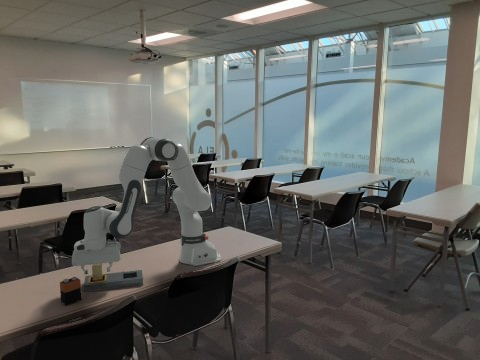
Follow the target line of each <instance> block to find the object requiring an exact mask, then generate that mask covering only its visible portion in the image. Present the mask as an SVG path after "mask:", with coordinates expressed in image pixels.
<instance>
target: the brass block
mask: <svg viewBox="0 0 480 360" xmlns="http://www.w3.org/2000/svg"><path fill="white" fill-rule="evenodd" d="M91 273H92V275H93V282H96V281H103V274H104V271H103V263H100V264H91Z"/></svg>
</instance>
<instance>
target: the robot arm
mask: <svg viewBox="0 0 480 360" xmlns="http://www.w3.org/2000/svg"><path fill="white" fill-rule="evenodd" d="M153 160H154V161H159V162H167V165H168V168H169V172H170V173H171V177H172V179H173V181H174V184H175V185H176V186H178V187H176V188H175V189H174V190H173V192H172V197H171V198H172V200H173V202H174V203H175V205H176V208H177V209H178V210H177V211H178V214H179V216H180V218H179V219H180V223H181V224H180V227H181V229H180V230H181V234H180V245H181V247H180V248H181V249H180V254H179V259H178V260H179V262H180V263H182V264H186V265H190V266H193V267H195V266H201V265H206V264H208V265H209V264H212V263H216V262H217V263H218V262H221V261H222V256H221V254H220V253H219V252H218V251H217V248H216V246H215V245H214V244H213V243H212V242H210V241H208V239H209V235H207V234H206V233H205V232H203V219H202V217H201V216H200V213H199V212H202V211H204V212H205V211H207V210H208V209H209V208H210V207H211V205H212V196H211V194H210V193H209V192H208V191H206V190H205V188H204V187H203V185H202V184H201V182H200V181H199V179H198V178H197V175H196V173H195V171H194V168H193V165H192V161H191V159H190V157H189V154H188V152H187V150H186V148H185V146H184V145H182V144H181V143H175V142H174V141H173V140H171V139H170V138H164V137H159V136H156V137H154V136H151V137H146V138H145V139H144V140H142V142H141V143H140V144H133V145H132V146H131V147H130V148H129V149H128V151H127V153H126V154H125V157H124V159H123V162H122V163H121V167H120V168H119V169H120V171H119V175H118V179H119V182H120V183H121V185H122V189H123V192H124V193H123V198H122V202H121V205H120V208H119V211H117V210H110V209H108V208H105V207H103V206H101V205H95V206H91V207H89V208H86V209H85V211H84V214H83V230H84V238H83V239H81V240H78V241H76V242H75V243H74V245H73V249H74V250H73V251H72V257H71V265H72V266H73V267H79V266H80V268H81V269H82V270H83V275H88V274H89V269H88V268H86V266H87V265H89V266H90V265H91V266H92V265H93V264H100V263H102V264H107V263H108V265H109V266H107V267H106V272H107V273H109V272H111V268H112V266H113V264H114V263H116V262H117V263H118V262H120V260H121V251H120V250H121V248H122V247H121V243H120V242H119V241H117V240H123V239H124V240H125V239H126V238H128V237H129V236H131V234H132V233H133V232H134V229H135V221H134V219H135V214H136V210H137V206H138V202H139V200H140V195H141V191H142V187H143V185H142V184H143V182H144V178H145V176H146V172H147V171H148V170H147V169H148V167H149V164H150V163H151V162H152V161H153ZM108 233H109V234H111V235H112V237H114V238H115V239H117V240H114V241H107V234H108Z"/></svg>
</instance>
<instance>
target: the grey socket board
mask: <svg viewBox="0 0 480 360" xmlns="http://www.w3.org/2000/svg"><path fill="white" fill-rule="evenodd" d="M141 285H144V276H143V269H138V270H128V271H120V272H119V271H118V272H111V273H109V272H108V273H103V281H96V282H93V275H85V277H84V281H83V292H84V293H85V292H92V291H100V290H102V291H103V290H108V289H110V290H111V289H117V288H124V287H133V286H141Z"/></svg>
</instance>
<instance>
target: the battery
mask: <svg viewBox="0 0 480 360" xmlns="http://www.w3.org/2000/svg"><path fill="white" fill-rule="evenodd" d="M81 282H82V281H81V279H80V278H78V277H77V276H73V277H71V278H65V279H62V281H59V289H60V290H59V291H60V292H59V293H60V302H61V304H63V305H64V306H66V305H67V306H69V305H71V304H75V303H77V302H80V301H82V298H83V297H82V286H81V285H82V284H81Z"/></svg>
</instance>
